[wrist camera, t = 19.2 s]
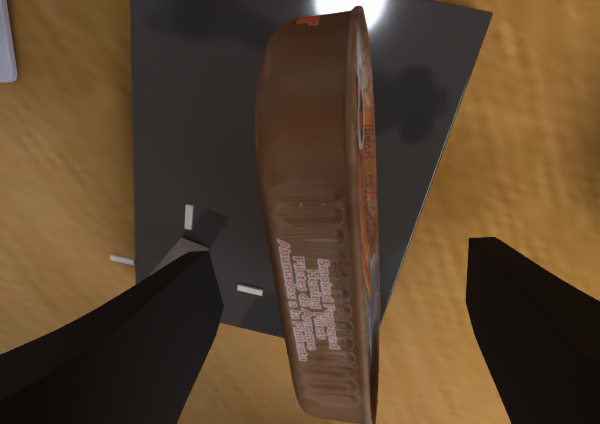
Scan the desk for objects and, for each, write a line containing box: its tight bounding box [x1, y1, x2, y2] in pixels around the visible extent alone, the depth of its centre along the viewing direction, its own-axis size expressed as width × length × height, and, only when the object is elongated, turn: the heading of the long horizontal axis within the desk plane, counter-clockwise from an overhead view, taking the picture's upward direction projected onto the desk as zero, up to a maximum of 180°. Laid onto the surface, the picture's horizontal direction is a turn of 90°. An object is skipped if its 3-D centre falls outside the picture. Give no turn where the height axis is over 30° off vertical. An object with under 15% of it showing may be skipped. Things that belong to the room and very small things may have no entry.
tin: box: [255, 5, 380, 424], centre depth 14 cm, size 15×3×8 cm, turn 6°
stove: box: [110, 0, 493, 338], centre depth 20 cm, size 15×19×2 cm
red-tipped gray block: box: [149, 237, 209, 276], centre depth 20 cm, size 4×2×4 cm, turn 159°
